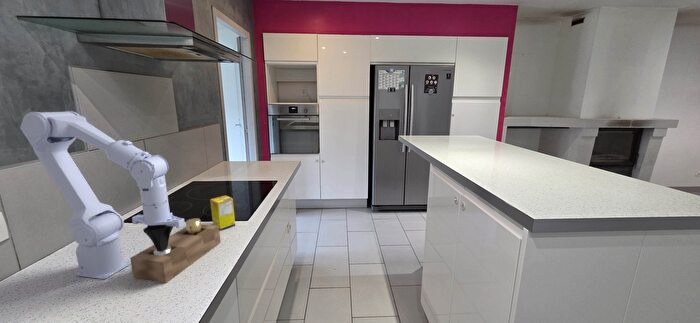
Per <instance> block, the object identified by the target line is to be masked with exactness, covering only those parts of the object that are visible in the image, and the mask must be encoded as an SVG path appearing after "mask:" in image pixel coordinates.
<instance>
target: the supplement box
mask: <svg viewBox="0 0 700 323" xmlns="http://www.w3.org/2000/svg"><path fill="white" fill-rule="evenodd" d="M210 210H211V219H212V225H214V226H219V232H220V231H223V230H226V229H229V228H231V227H235V226H236V220H235V219H236V218H235V208H234V199H233V198H232V197H230V196H228V195H221V196H217V197H215V198H214V197H213V198H211V199H210Z"/></svg>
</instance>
